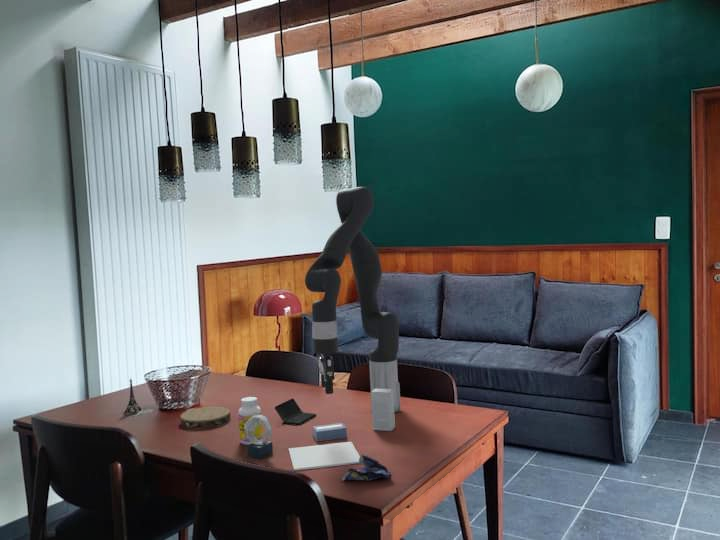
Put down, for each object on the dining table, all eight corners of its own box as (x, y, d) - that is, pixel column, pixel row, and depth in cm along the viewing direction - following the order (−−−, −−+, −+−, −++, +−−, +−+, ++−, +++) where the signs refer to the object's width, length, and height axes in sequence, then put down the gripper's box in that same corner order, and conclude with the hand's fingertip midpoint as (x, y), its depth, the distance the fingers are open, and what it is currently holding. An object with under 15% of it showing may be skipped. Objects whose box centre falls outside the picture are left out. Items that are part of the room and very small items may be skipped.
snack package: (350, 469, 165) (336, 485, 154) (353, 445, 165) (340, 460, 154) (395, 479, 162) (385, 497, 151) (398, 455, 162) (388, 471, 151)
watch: (255, 449, 182) (253, 411, 181) (277, 453, 178) (275, 414, 177) (242, 455, 177) (239, 416, 177) (264, 460, 173) (262, 420, 172)
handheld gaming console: (305, 421, 202) (287, 395, 205) (288, 434, 204) (271, 408, 206) (318, 415, 213) (302, 391, 215) (302, 428, 214) (286, 403, 217)
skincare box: (395, 427, 197) (393, 388, 196) (391, 431, 193) (389, 392, 192) (376, 426, 199) (374, 388, 198) (372, 430, 195) (370, 391, 194)
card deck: (342, 433, 194) (341, 422, 194) (346, 438, 189) (346, 427, 189) (313, 437, 192) (312, 426, 192) (317, 442, 187) (316, 431, 187)
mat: (351, 443, 184) (351, 441, 184) (362, 462, 168) (362, 461, 168) (288, 450, 180) (288, 448, 180) (294, 470, 165) (293, 468, 164)
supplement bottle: (235, 442, 189) (232, 399, 188) (252, 436, 194) (250, 394, 193) (250, 447, 184) (247, 403, 184) (267, 440, 189) (265, 397, 189)
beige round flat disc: (237, 423, 209) (236, 414, 209) (188, 433, 201) (188, 423, 201) (221, 412, 223) (220, 403, 222) (175, 421, 215) (174, 412, 214)
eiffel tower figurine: (118, 421, 217) (115, 383, 216) (106, 416, 225) (103, 378, 224) (159, 411, 228) (157, 374, 227) (146, 406, 235) (144, 370, 234)
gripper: (341, 338, 182) (343, 395, 183) (334, 331, 196) (336, 383, 197) (315, 340, 181) (317, 397, 182) (309, 333, 195) (311, 385, 196)
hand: (327, 390), depth 190 cm, fingers open, 8 cm apart
